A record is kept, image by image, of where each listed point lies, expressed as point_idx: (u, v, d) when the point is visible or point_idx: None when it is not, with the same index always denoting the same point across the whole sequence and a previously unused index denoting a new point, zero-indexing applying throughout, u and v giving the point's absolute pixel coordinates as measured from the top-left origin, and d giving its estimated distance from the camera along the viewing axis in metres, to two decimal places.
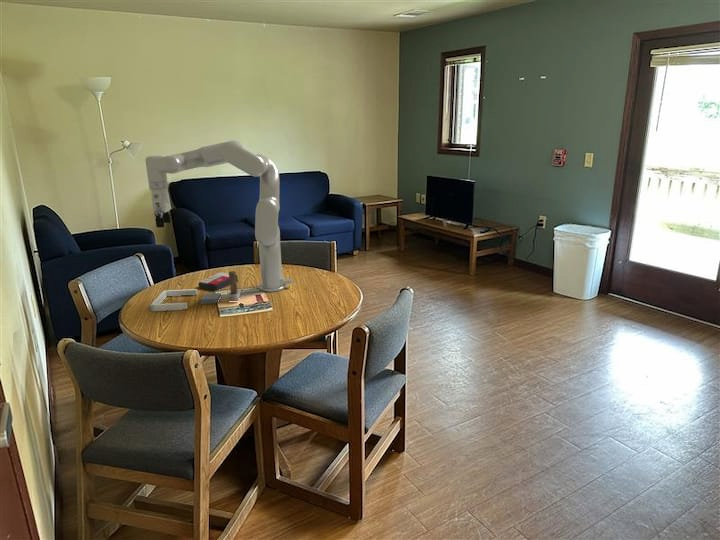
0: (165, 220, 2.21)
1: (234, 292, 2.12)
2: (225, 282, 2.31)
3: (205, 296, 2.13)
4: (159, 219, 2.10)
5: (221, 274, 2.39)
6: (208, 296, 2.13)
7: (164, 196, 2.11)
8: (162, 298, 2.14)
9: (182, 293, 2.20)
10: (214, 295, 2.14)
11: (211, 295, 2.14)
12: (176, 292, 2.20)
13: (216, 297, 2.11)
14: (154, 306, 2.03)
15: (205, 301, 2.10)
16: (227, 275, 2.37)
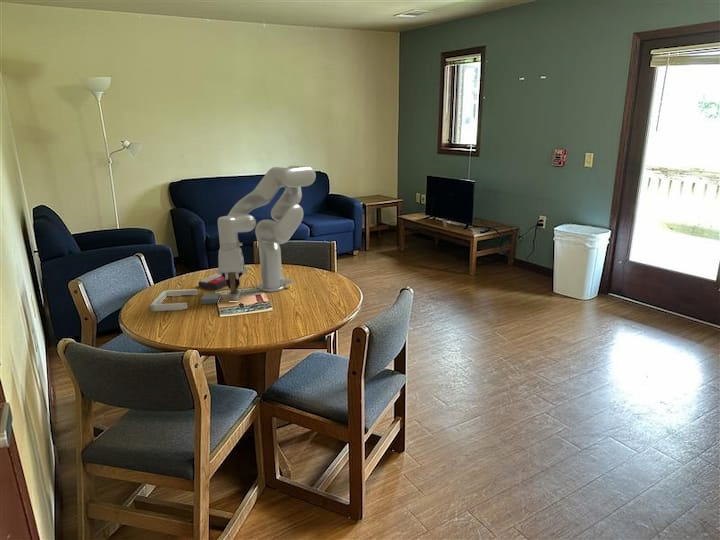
0: None
1: (234, 292, 2.12)
2: (225, 282, 2.31)
3: (205, 296, 2.13)
4: (238, 279, 2.12)
5: None
6: (208, 296, 2.13)
7: None
8: (162, 298, 2.14)
9: (182, 293, 2.20)
10: (214, 295, 2.14)
11: (211, 295, 2.14)
12: (176, 292, 2.20)
13: (216, 297, 2.12)
14: (154, 306, 2.03)
15: (205, 301, 2.10)
16: None
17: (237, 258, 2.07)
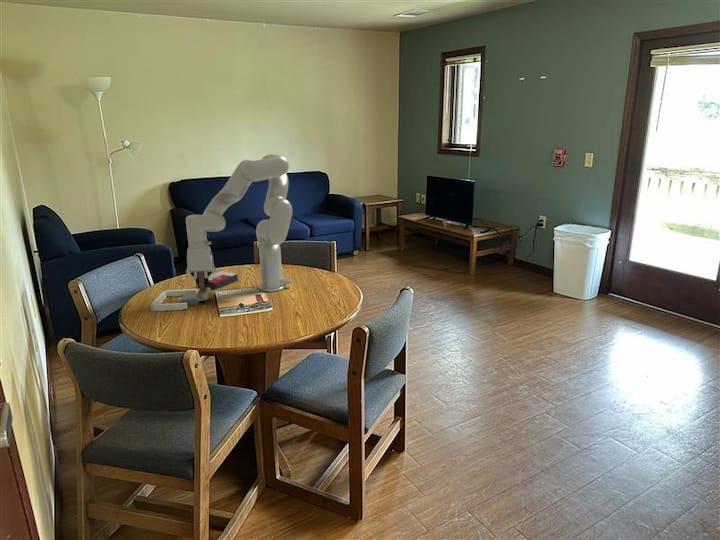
0: None
1: (203, 289, 2.11)
2: (225, 281, 2.33)
3: (185, 297, 2.12)
4: (208, 278, 2.11)
5: (221, 273, 2.41)
6: (188, 296, 2.12)
7: None
8: (162, 298, 2.14)
9: (182, 293, 2.20)
10: (195, 295, 2.13)
11: (191, 296, 2.13)
12: (176, 292, 2.20)
13: (196, 298, 2.11)
14: (154, 306, 2.03)
15: (184, 302, 2.09)
16: (227, 274, 2.39)
17: (206, 257, 2.06)
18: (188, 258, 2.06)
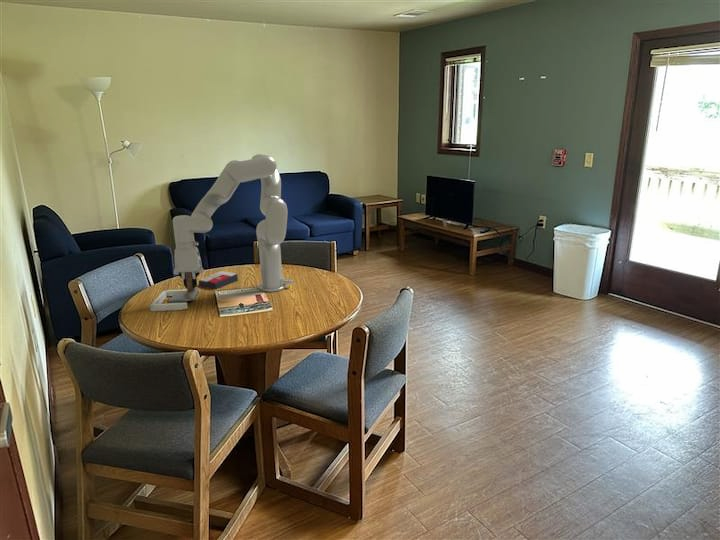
0: None
1: (191, 289, 2.10)
2: (225, 281, 2.33)
3: (173, 298, 2.12)
4: (196, 279, 2.11)
5: (221, 273, 2.41)
6: (177, 297, 2.12)
7: None
8: (162, 298, 2.14)
9: (182, 293, 2.20)
10: (183, 296, 2.13)
11: (179, 296, 2.13)
12: (176, 292, 2.20)
13: (184, 298, 2.11)
14: (154, 306, 2.03)
15: None
16: (227, 274, 2.39)
17: (193, 258, 2.06)
18: (175, 259, 2.05)
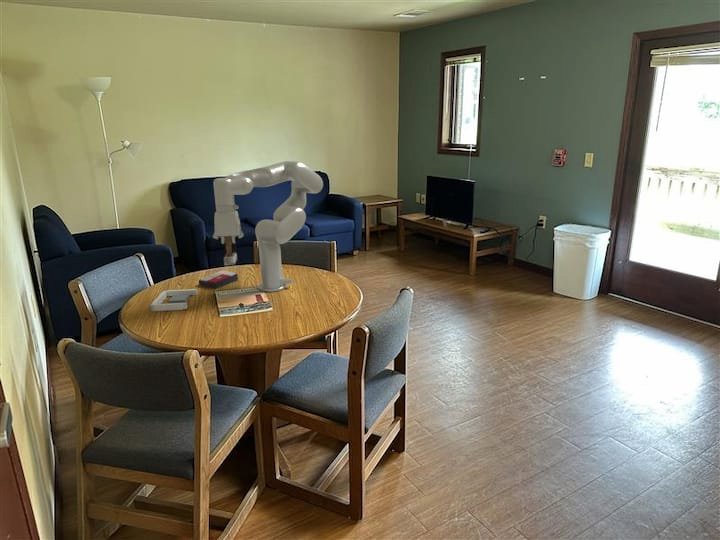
0: None
1: (230, 254, 2.07)
2: (224, 280, 2.33)
3: (173, 298, 2.12)
4: (235, 243, 2.08)
5: (222, 272, 2.41)
6: (176, 297, 2.12)
7: None
8: (162, 298, 2.14)
9: (182, 293, 2.20)
10: (183, 296, 2.13)
11: (179, 296, 2.13)
12: (176, 292, 2.20)
13: (184, 298, 2.11)
14: (154, 306, 2.03)
15: None
16: (227, 273, 2.40)
17: (233, 221, 2.03)
18: (216, 222, 2.02)
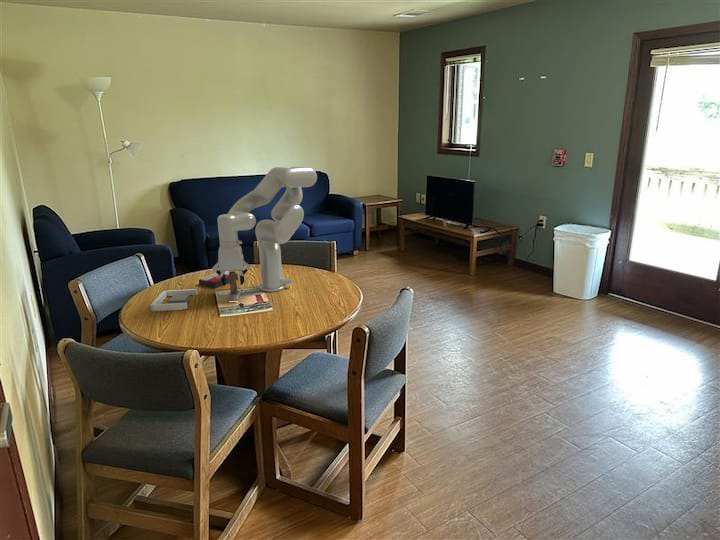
0: (225, 282, 2.12)
1: (234, 292, 2.12)
2: None
3: (173, 298, 2.12)
4: (243, 276, 2.12)
5: None
6: (176, 297, 2.12)
7: None
8: (162, 298, 2.14)
9: (182, 293, 2.20)
10: (183, 296, 2.13)
11: (179, 296, 2.13)
12: (176, 292, 2.20)
13: (184, 298, 2.11)
14: (154, 306, 2.03)
15: None
16: (227, 273, 2.40)
17: (237, 256, 2.07)
18: (219, 257, 2.07)
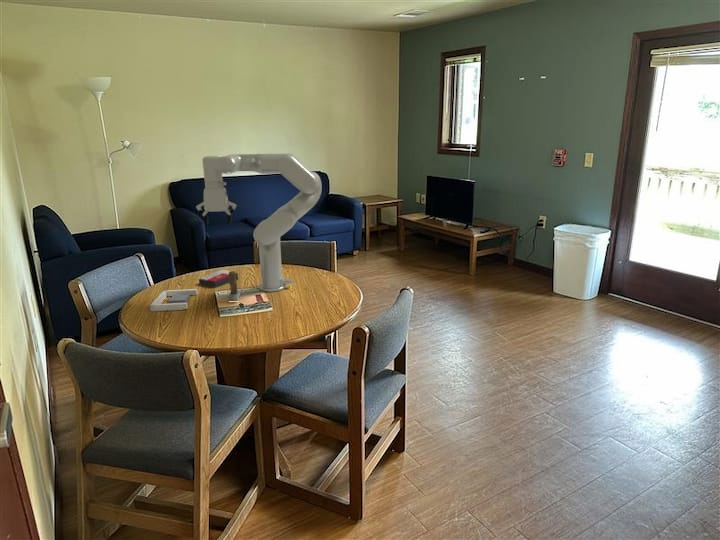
0: (207, 222, 2.19)
1: (234, 292, 2.12)
2: (224, 279, 2.35)
3: (173, 298, 2.12)
4: (230, 215, 2.20)
5: (222, 271, 2.43)
6: (176, 297, 2.12)
7: None
8: (162, 298, 2.14)
9: (182, 293, 2.20)
10: (183, 296, 2.13)
11: (179, 296, 2.13)
12: (176, 292, 2.20)
13: (184, 298, 2.11)
14: (154, 306, 2.03)
15: None
16: (228, 272, 2.41)
17: (221, 197, 2.15)
18: (205, 198, 2.15)
